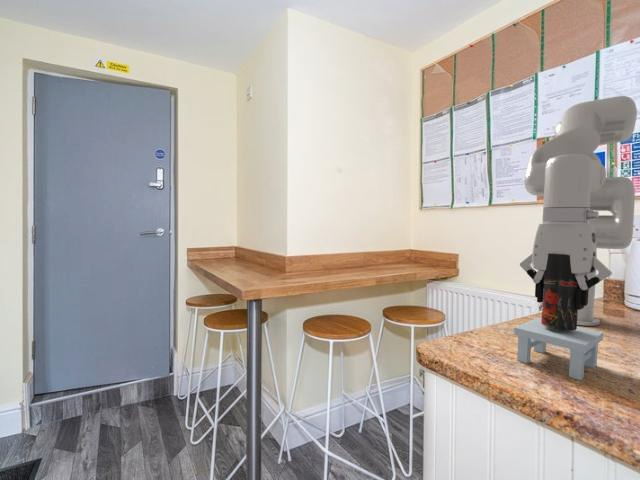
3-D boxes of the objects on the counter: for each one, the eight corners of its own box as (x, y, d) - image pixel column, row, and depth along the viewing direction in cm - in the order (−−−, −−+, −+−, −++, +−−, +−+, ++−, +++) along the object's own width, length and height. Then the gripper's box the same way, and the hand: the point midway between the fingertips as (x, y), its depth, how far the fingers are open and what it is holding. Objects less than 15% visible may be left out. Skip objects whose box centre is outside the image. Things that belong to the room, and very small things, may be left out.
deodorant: (583, 331, 64) (588, 255, 64) (549, 329, 66) (553, 254, 65) (567, 322, 70) (571, 252, 69) (536, 320, 71) (539, 251, 71)
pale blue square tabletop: (534, 347, 77) (536, 318, 76) (601, 365, 67) (603, 332, 67) (512, 360, 69) (514, 327, 69) (583, 382, 60) (586, 345, 60)
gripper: (626, 217, 62) (619, 311, 63) (525, 217, 76) (521, 294, 77) (616, 217, 58) (610, 318, 59) (511, 217, 71) (507, 299, 72)
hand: (559, 304), depth 68 cm, fingers closed on deodorant, 6 cm apart
